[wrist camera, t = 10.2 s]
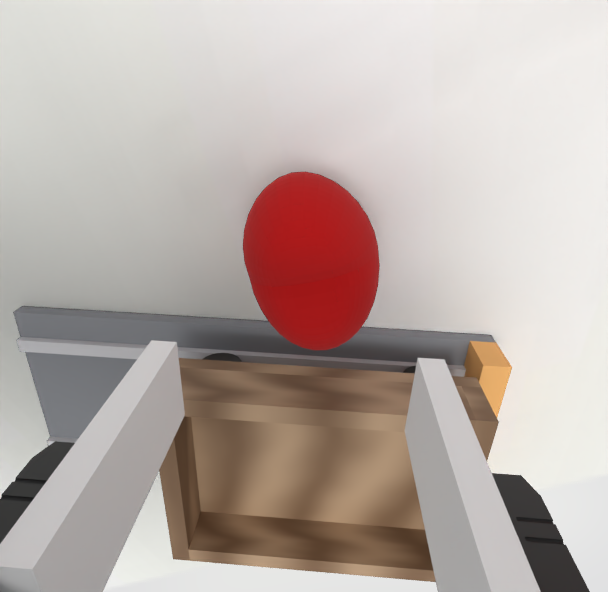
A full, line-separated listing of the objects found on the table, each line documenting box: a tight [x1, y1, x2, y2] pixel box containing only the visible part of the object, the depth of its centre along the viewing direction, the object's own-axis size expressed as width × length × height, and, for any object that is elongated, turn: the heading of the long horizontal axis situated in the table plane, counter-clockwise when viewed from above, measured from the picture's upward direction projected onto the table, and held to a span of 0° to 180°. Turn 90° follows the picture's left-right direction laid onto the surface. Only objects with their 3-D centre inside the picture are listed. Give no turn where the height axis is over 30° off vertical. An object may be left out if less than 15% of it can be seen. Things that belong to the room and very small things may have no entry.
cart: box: [159, 353, 499, 582], centre depth 30 cm, size 19×14×7 cm
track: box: [13, 306, 512, 446], centre depth 33 cm, size 35×15×4 cm, turn 88°
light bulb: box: [243, 172, 379, 350], centre depth 24 cm, size 9×7×10 cm
